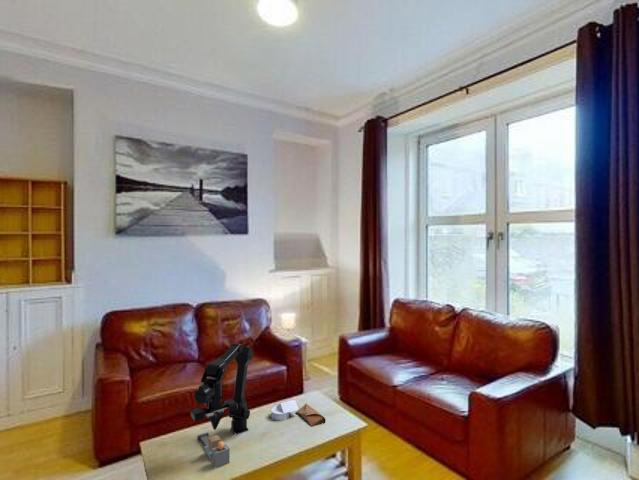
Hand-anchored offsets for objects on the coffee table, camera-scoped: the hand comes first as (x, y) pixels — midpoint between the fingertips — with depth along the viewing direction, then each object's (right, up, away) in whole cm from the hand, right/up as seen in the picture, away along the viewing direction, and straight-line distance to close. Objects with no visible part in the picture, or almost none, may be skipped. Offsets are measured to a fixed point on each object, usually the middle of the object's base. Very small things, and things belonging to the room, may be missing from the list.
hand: (214, 429), depth 159 cm
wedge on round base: (+26, -11, +35) cm, 45 cm away
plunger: (+4, -6, -6) cm, 9 cm away
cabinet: (+4, -11, -5) cm, 13 cm away
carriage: (0, -11, 0) cm, 11 cm away
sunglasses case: (+40, -11, +33) cm, 53 cm away
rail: (-3, -11, +5) cm, 12 cm away
